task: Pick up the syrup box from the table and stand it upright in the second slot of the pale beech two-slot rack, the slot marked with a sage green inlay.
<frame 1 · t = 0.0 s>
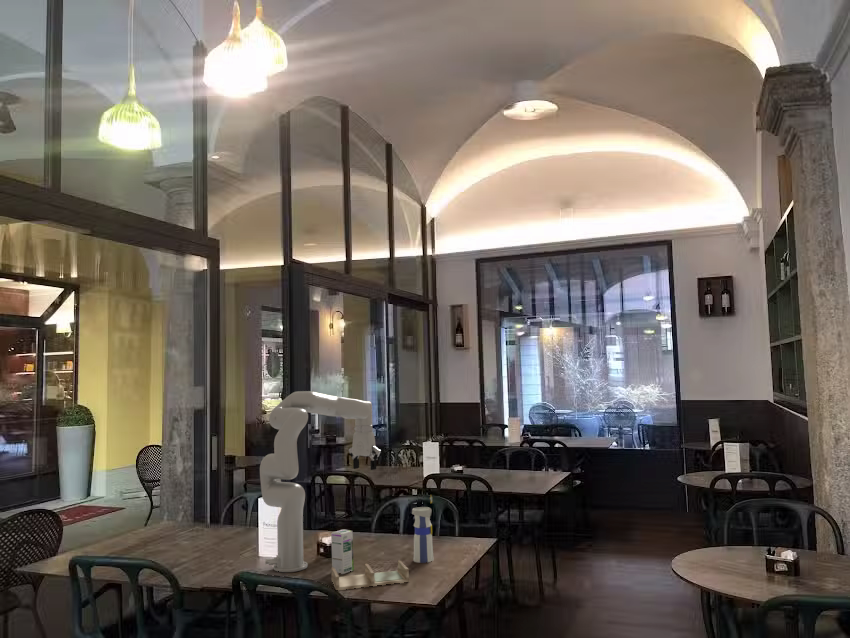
hand: (364, 469, 294), 31 cm above the table, tool pointing down, fingers open, 9 cm apart
syrup box: (342, 572, 247), on the table
water bottle: (423, 560, 260), on the table
slot rack: (369, 581, 234), on the table
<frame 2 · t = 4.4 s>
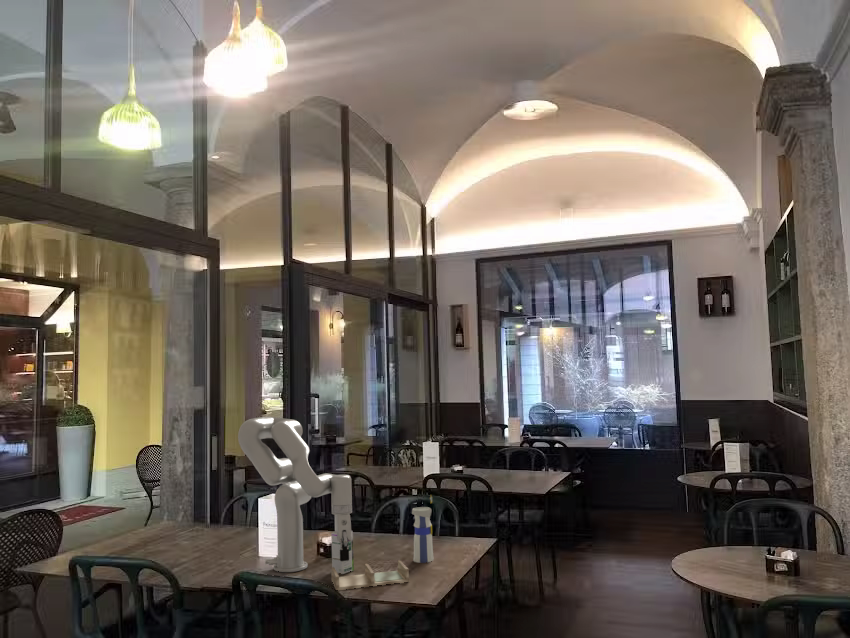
hand: (342, 557, 248), 5 cm above the table, tool pointing down, fingers closed on syrup box, 7 cm apart
syrup box: (342, 572, 247), on the table, touching gripper
everything else where it was.
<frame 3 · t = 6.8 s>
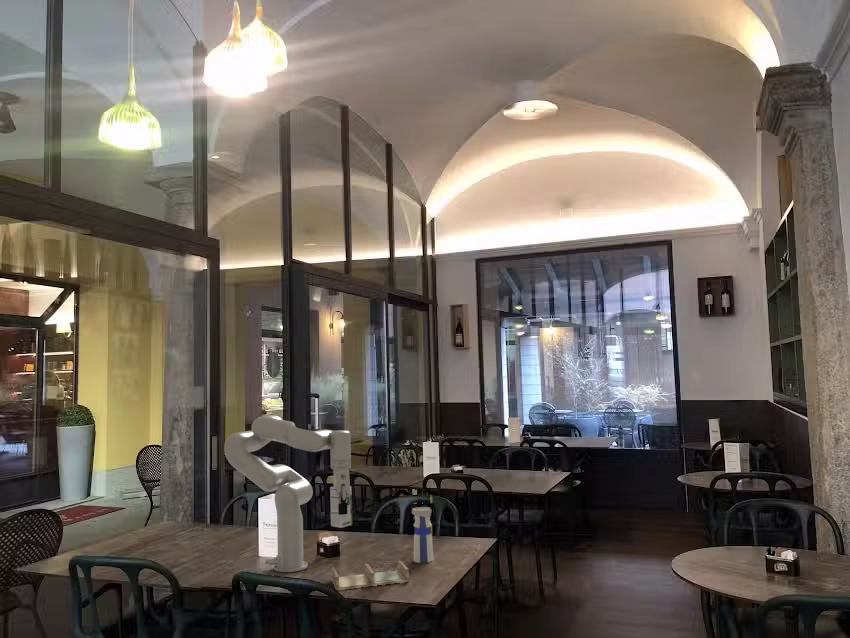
hand: (341, 511, 249), 21 cm above the table, tool pointing down, fingers closed on syrup box, 7 cm apart
syrup box: (341, 526, 249), point 16 cm above the table, touching gripper
everything else where it was.
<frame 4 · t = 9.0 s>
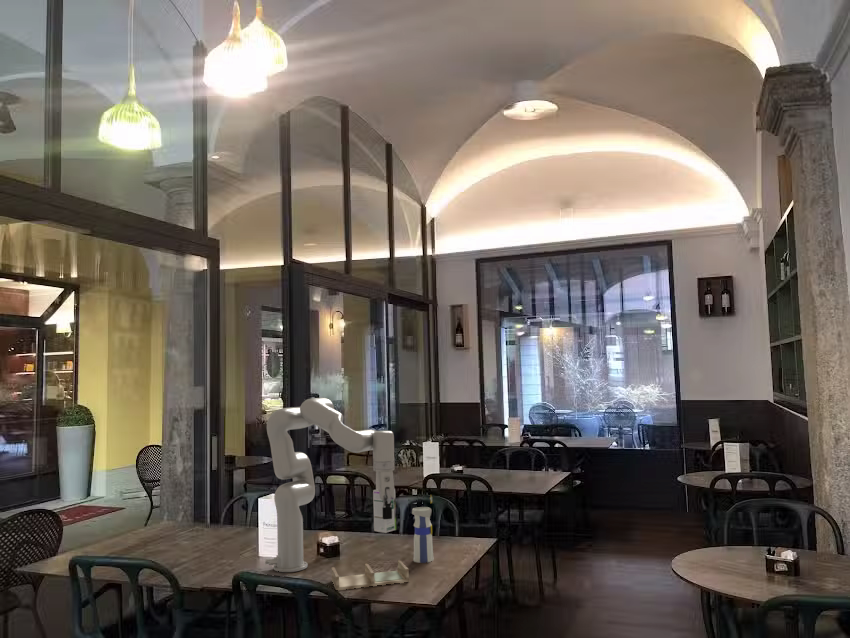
hand: (384, 516, 237), 22 cm above the table, tool pointing down, fingers closed on syrup box, 7 cm apart
syrup box: (385, 531, 237), point 17 cm above the table, touching gripper
everything else where it was.
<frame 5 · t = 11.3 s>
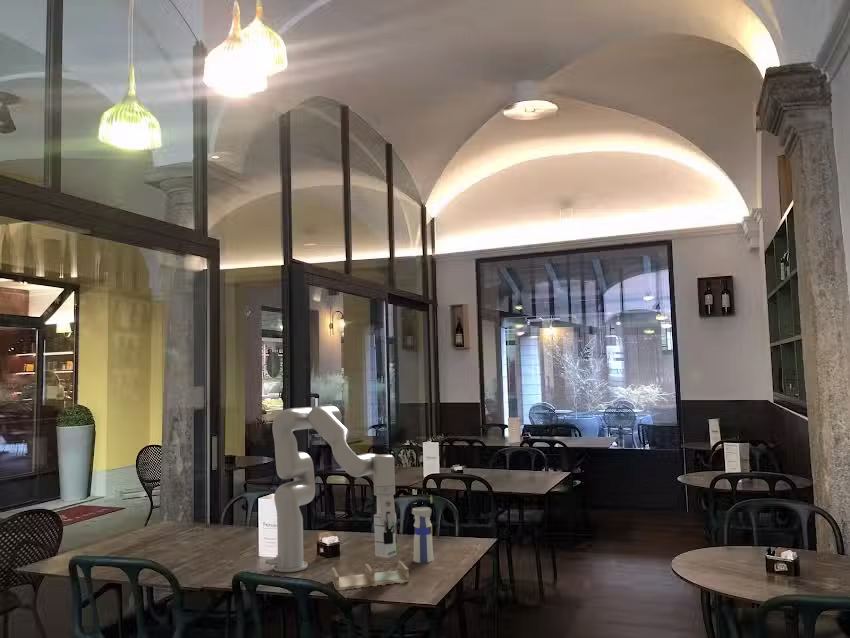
hand: (385, 540, 237), 13 cm above the table, tool pointing down, fingers closed on syrup box, 7 cm apart
syrup box: (386, 555, 236), point 8 cm above the table, touching gripper
everything else where it was.
when the fingers open (7 cm above the table, at t = 13.5 s): syrup box stays where it is, resting on slot rack.
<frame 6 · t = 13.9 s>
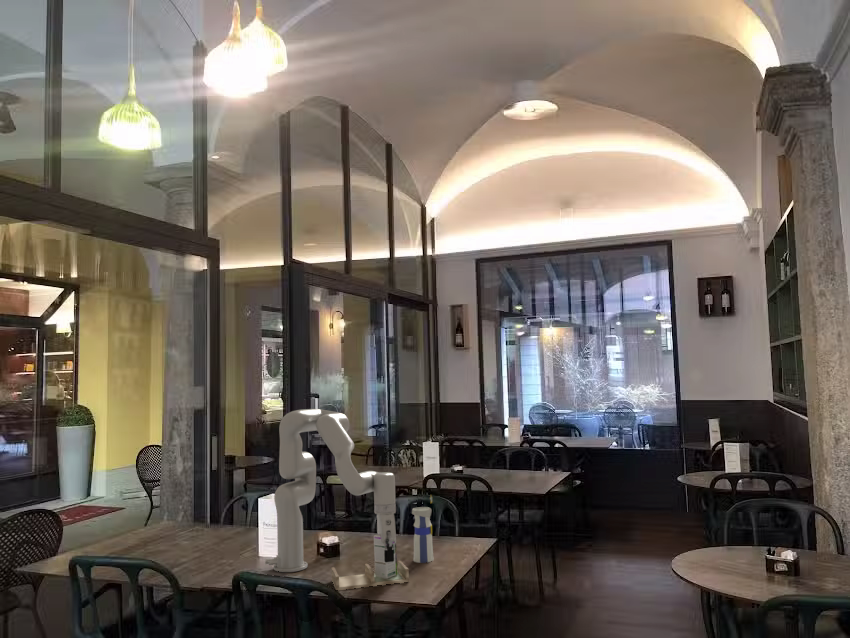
hand: (386, 558, 236), 7 cm above the table, tool pointing down, fingers open, 9 cm apart
syrup box: (386, 576, 236), point 1 cm above the table, touching slot rack
everything else where it was.
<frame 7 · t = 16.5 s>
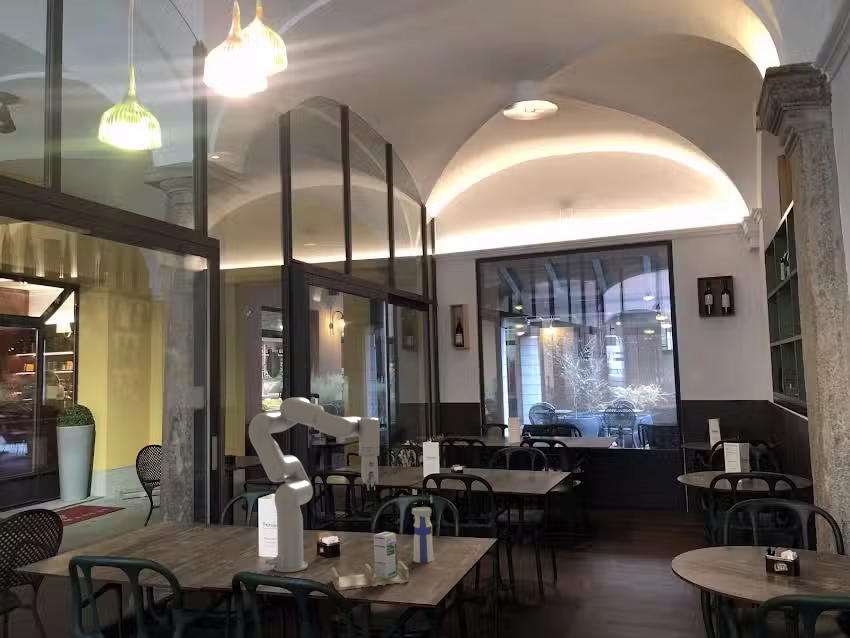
hand: (368, 498, 246), 27 cm above the table, tool pointing down, fingers open, 9 cm apart
nothing on the table moved.
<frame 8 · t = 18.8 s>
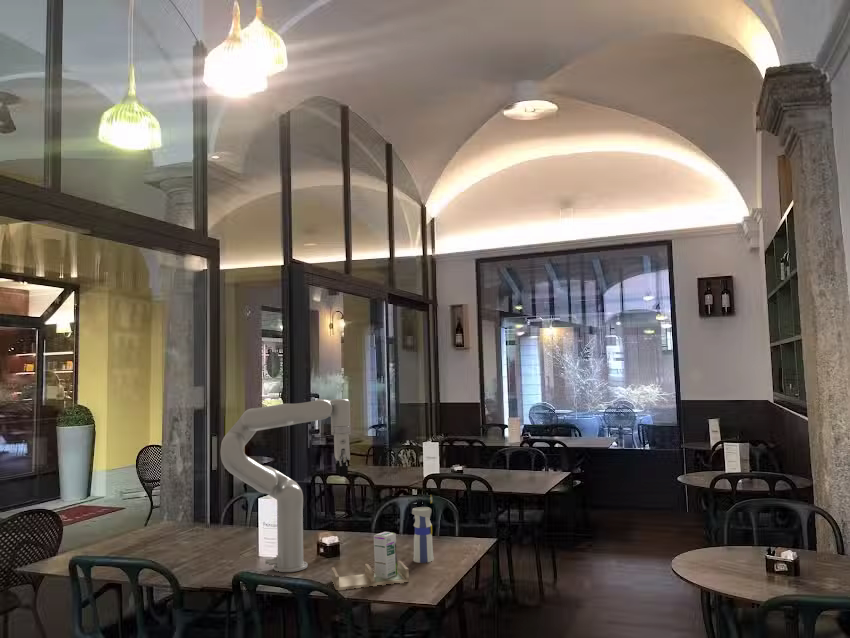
hand: (341, 474, 262), 33 cm above the table, tool pointing down, fingers open, 9 cm apart
nothing on the table moved.
at the end: syrup box inside the target area on the slot rack (0.4 cm from its centre), point 1.0 cm above the slot rack's base; syrup box tilted 0°; the gripper is holding nothing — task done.
